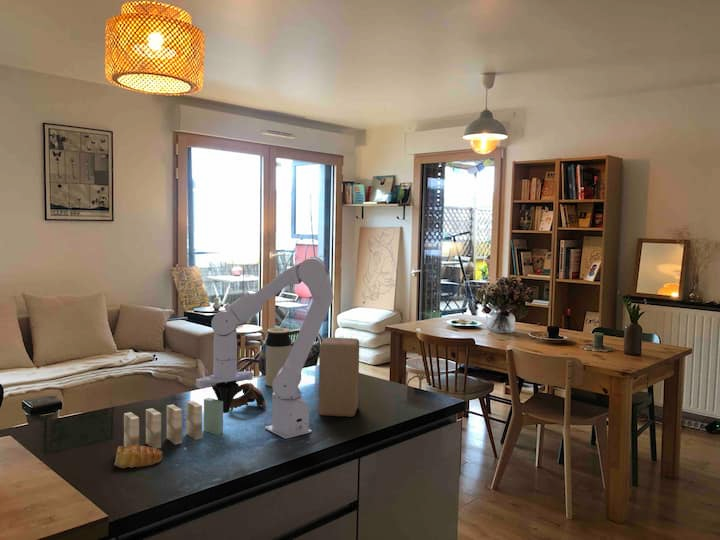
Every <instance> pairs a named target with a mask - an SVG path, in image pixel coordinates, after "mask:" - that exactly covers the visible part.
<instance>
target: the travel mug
mask: <svg viewBox="0 0 720 540" xmlns="http://www.w3.org/2000/svg"><path fill="white" fill-rule="evenodd" d="M266 332H267V337H266V339H265V385H266V386H267V387H271V388H272V383H273V380H274V378H275V377H276V376H277V373H278V371H279V369H280V368H281V367H283V366H284V365H285V363H286V361H287V358H288V356H289V354H290V352H291V349H292V338H291V337H290V333H291V329H289V328H286V327H273V328H272V327H271V328H268V329H267V330H266Z"/></svg>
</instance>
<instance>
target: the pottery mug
mask: <svg viewBox="0 0 720 540" xmlns="http://www.w3.org/2000/svg"><path fill="white" fill-rule="evenodd" d="M240 392H242V395H241V396H238V397H236V396H237V394H239V393H240ZM234 397H236V398H234ZM234 397H233V400H232V403H231V406H230V410H231V411H233V410H234V409H237V408H240V407H243V406H246V407H247V406H249V403H254V402H256V406H261V407H262V409H263V411H266V410H267V405H266V399H265V396H264V395H263V393H262V392H261V390H260V389H259V388H257V387H256V386H254V384H253V383H248V382H246V383H242V384H240V385H239V387H238V389H237V391H236V393H235V395H234Z"/></svg>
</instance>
